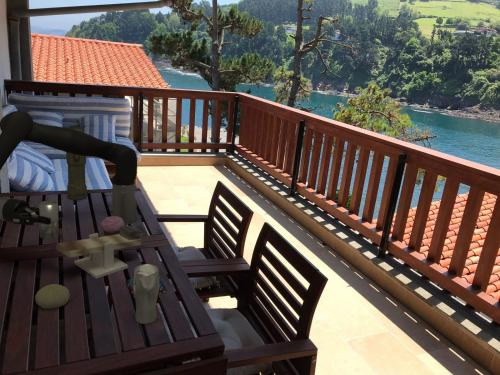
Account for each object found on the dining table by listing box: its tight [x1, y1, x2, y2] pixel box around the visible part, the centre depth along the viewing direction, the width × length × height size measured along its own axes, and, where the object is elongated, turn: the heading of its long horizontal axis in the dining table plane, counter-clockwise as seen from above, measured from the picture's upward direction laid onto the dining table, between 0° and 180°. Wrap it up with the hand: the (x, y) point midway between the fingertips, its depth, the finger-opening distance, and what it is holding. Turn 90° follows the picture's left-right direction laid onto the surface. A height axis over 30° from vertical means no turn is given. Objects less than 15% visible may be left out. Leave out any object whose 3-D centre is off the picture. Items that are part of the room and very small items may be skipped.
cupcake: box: [100, 216, 126, 236], centre depth 173 cm, size 9×9×10 cm
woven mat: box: [125, 277, 167, 299], centre depth 142 cm, size 10×11×2 cm
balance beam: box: [55, 225, 143, 259], centre depth 152 cm, size 27×8×5 cm, turn 137°
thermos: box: [65, 125, 88, 202], centre depth 216 cm, size 9×12×35 cm
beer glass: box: [132, 263, 160, 325], centre depth 124 cm, size 7×7×15 cm
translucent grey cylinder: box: [38, 200, 60, 240], centre depth 143 cm, size 6×6×11 cm
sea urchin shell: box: [34, 283, 71, 310], centre depth 130 cm, size 9×8×8 cm
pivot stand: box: [74, 232, 129, 279], centre depth 153 cm, size 12×14×10 cm
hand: (56, 217), depth 142 cm, fingers closed on translucent grey cylinder, 5 cm apart
